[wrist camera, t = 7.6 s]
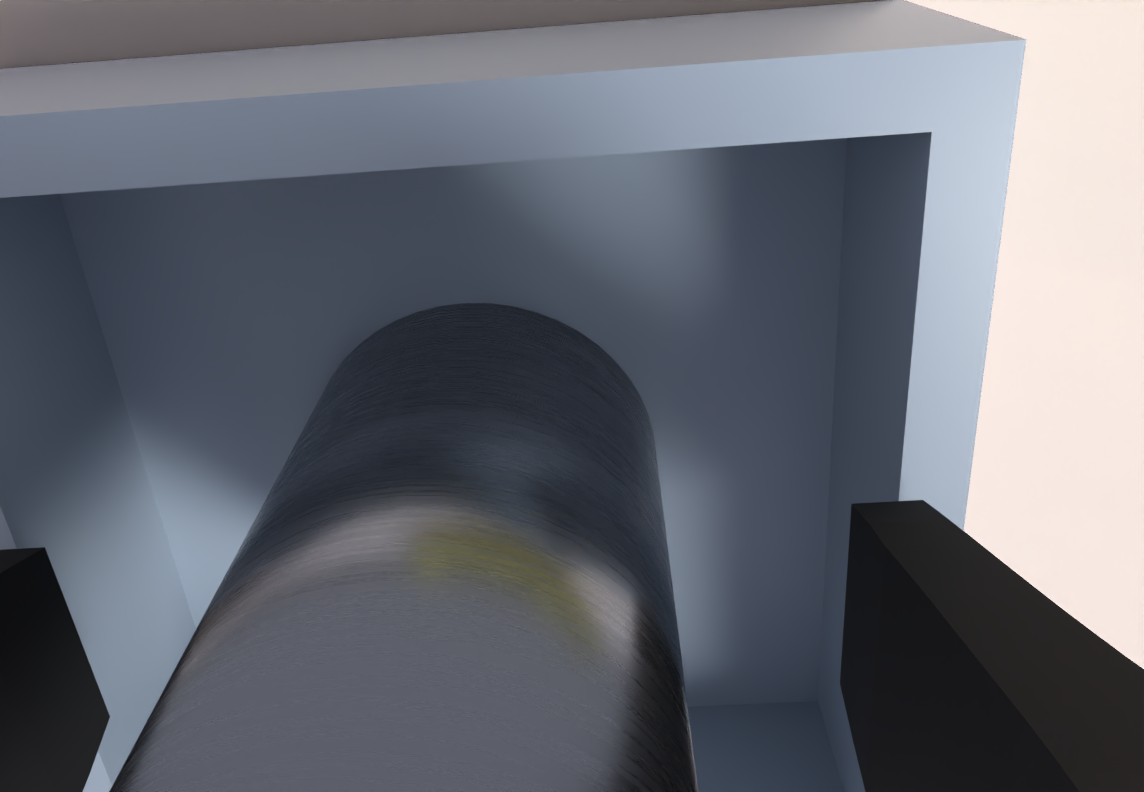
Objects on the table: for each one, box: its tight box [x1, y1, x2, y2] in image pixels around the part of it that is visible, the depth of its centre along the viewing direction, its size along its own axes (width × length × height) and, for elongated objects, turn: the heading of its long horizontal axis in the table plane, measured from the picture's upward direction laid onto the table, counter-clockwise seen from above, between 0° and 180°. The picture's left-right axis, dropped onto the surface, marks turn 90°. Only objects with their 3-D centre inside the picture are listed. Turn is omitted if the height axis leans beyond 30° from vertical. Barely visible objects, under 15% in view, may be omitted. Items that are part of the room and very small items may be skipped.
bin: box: [0, 0, 1026, 792], centre depth 11 cm, size 9×9×3 cm
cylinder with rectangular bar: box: [109, 303, 698, 792], centre depth 8 cm, size 4×4×7 cm
